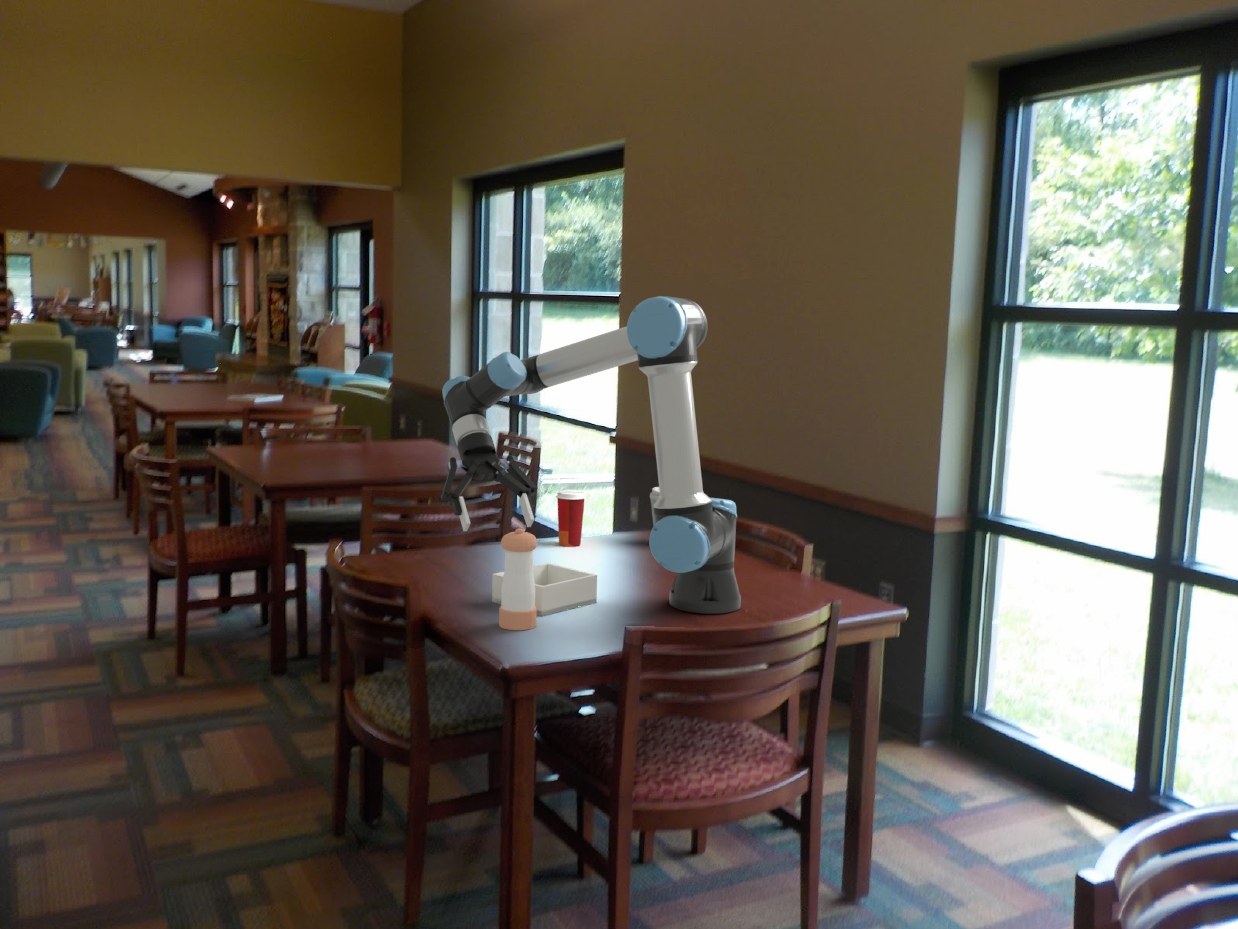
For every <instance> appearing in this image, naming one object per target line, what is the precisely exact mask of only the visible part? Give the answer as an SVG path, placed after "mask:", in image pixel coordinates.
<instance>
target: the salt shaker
mask: <svg viewBox="0 0 1238 929" xmlns="http://www.w3.org/2000/svg"><path fill="white" fill-rule="evenodd" d="M537 540H538V539H537V538H536V536H535V535H534V534H532V533H531V532H527V531H524V529H522V528H516V529H515V531H510V532H508V533H506V534H505V535H503V536H502V538H501V541H500V545H501V547H502V549H503V550H504V571H503V572H504V577H503V583H502V588H501V604H500V607H499V608H498V613H499V614H498V626H499V627H500V628H501V629H504V630H509V631H527V630H532V629H534V628H536V627H537V616H538V615H537V609H536V607H535V584H534V577H533V566H534V550H535V549H537V546H538V541H537ZM535 626H536V627H535Z"/></svg>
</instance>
